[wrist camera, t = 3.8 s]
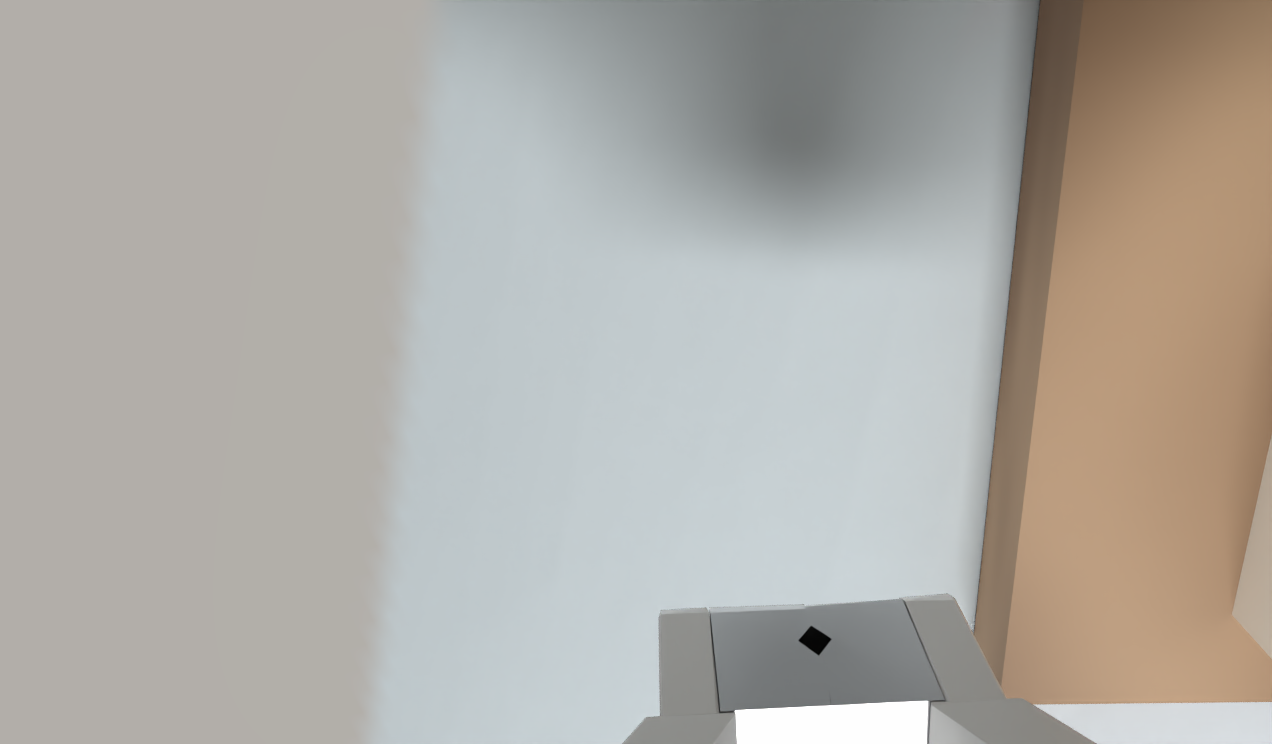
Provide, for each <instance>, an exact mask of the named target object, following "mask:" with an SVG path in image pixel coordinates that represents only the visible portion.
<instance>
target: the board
mask: <svg viewBox="0 0 1272 744" xmlns="http://www.w3.org/2000/svg"><path fill="white" fill-rule="evenodd" d="M1271 436H1272V0H1040V9H1039V18H1038V28H1037V37H1036V47H1035V56H1034V66H1033V75H1032V85H1031V95H1030V104H1029V114H1028V123H1027V133H1026V142H1025V152H1024V161H1023V171H1022V180H1021V190H1020V200H1019V209H1018V219H1017V228H1016V238H1015V247H1014V257H1013V266H1012V276H1011V286H1010V295H1009V305H1008V314H1007V324H1006V333H1005V343H1004V352H1003V362H1002V371H1001V381H1000V391H999V400H998V410H997V419H996V429H995V438H994V448H993V457H992V467H991V476H990V486H989V496H988V505H987V515H986V524H985V534H984V543H983V553H982V562H981V572H980V582H979V591H978V601H977V610H976V620H975V629H974V636H975V638H976V640H977V642H978V644H979V646H980V648H981V650H982V652H983V653H984V655H985V657H986V659H987V661H988V663H989V665H990V667H991V669H992V671H993V673H994V675H995V677H996V679H997V680H998V682H999V684H1000V686H1001V688H1002V690H1003V692H1004V694H1005V696H1006V698H1007V699H1011V698H1023V699H1024V700H1026V701H1028V702H1029V703H1031V704H1111V703H1203V702H1272V659H1271V657H1270V656H1269V655H1268V654H1267V653H1266V652H1265V651H1264V650H1263V649H1262V648H1261V646H1260V645H1259V644H1258V643H1257V642H1256V641H1255V640H1254V639H1253V638H1252V636H1251V635H1250V634H1249V633H1248V632H1247V631H1246V630H1245V629H1244V628H1243V627H1242V625H1241V624H1240V623H1239V622H1238V621H1237V620H1236V619H1235V618H1234V617H1233V615H1232V612H1233V607H1234V603H1235V598H1236V594H1237V589H1238V585H1239V580H1240V576H1241V571H1242V567H1243V562H1244V558H1245V553H1246V549H1247V544H1248V540H1249V535H1250V531H1251V526H1252V522H1253V517H1254V513H1255V508H1256V504H1257V499H1258V495H1259V490H1260V486H1261V481H1262V477H1263V472H1264V468H1265V463H1266V459H1267V454H1268V450H1269V445H1270V441H1271Z"/></svg>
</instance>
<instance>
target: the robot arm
mask: <svg viewBox="0 0 1272 744" xmlns="http://www.w3.org/2000/svg"><path fill="white" fill-rule="evenodd" d="M709 615H710V616H709ZM659 683H660V716H656V717H646V718H645V719H644V720H643V721H642V722H641V723H640V724H639V725H638V727H637V728H636V729H635V730H634V731H633V732H632V733H631V734H630V736H629V737H628V738H627V739H626V740H625V741H624V742H623V743H622V744H1096V743H1095V742H1093V741H1091V740H1090V739H1088V738H1086V737H1085V736H1083V735H1082V734H1080V733H1078V732H1077V731H1075V730H1073V729H1072V728H1070V727H1068V726H1067V725H1065V724H1064V723H1062V722H1060V721H1059V720H1057V719H1055V718H1054V717H1052V716H1050V715H1049V714H1047V713H1046V712H1044V711H1042V710H1041V709H1039V708H1037V707H1036V706H1034V705H1033V704H1031V703H1029V702H1028V701H1026V700H1024V699H1023V698H1011V699H1007V698H1006V696H1005V694H1004V692H1003V690H1002V688H1001V686H1000V684H999V682H998V680H997V679H996V677H995V675H994V673H993V671H992V669H991V667H990V665H989V663H988V661H987V659H986V657H985V655H984V653H983V652H982V650H981V648H980V646H979V644H978V642H977V640H976V638H975V636H974V634H973V632H972V630H971V628H970V627H969V625H968V623H967V621H966V619H965V617H964V615H963V613H962V611H961V609H960V607H959V605H958V603H957V602H956V600H955V598H954V597H952V596H951V595H949V594H937V595H925V596H914V597H902V598H899V599H893V600H878V601H863V602H847V603H832V604H817V605H804V604H798V605H768V606H739V607H709V611H708V610H707V608H689V609H671V610H661V611H660V614H659Z"/></svg>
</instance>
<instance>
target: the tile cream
mask: <svg viewBox="0 0 1272 744" xmlns="http://www.w3.org/2000/svg"><path fill="white" fill-rule="evenodd" d="M1232 615H1233V617H1234V618H1235V619H1236V620H1237V621H1238V622H1239V623H1240V624H1241V625H1242V627H1243V628H1244V629H1245V630H1246V631H1247V632H1248V633H1249V634H1250V635H1251V636H1252V638H1253V639H1254V640H1255V641H1256V642H1257V643H1258V644H1259V645H1260V646H1261V648H1262V649H1263V650H1264V651H1265V652H1266V653H1267V654H1268V655H1269V656H1270V657H1271V659H1272V436H1271V441H1270V445H1269V450H1268V454H1267V459H1266V463H1265V468H1264V472H1263V477H1262V481H1261V486H1260V490H1259V495H1258V499H1257V504H1256V508H1255V513H1254V517H1253V522H1252V526H1251V531H1250V535H1249V540H1248V544H1247V549H1246V553H1245V558H1244V562H1243V567H1242V571H1241V576H1240V580H1239V585H1238V589H1237V594H1236V598H1235V603H1234V607H1233V612H1232Z"/></svg>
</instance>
